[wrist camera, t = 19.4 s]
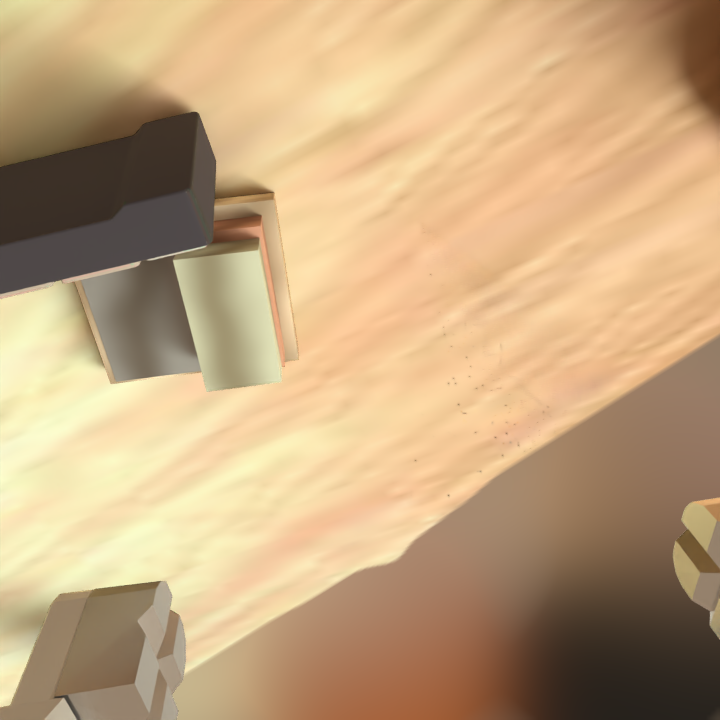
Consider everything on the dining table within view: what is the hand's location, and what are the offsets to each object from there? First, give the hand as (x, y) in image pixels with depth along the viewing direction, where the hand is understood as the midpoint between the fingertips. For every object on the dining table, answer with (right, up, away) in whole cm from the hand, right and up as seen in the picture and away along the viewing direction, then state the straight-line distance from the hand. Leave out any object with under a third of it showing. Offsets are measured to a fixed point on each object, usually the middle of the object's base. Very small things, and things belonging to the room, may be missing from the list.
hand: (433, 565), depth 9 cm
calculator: (-25, +11, +27) cm, 39 cm away
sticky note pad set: (-14, +9, +36) cm, 40 cm away
